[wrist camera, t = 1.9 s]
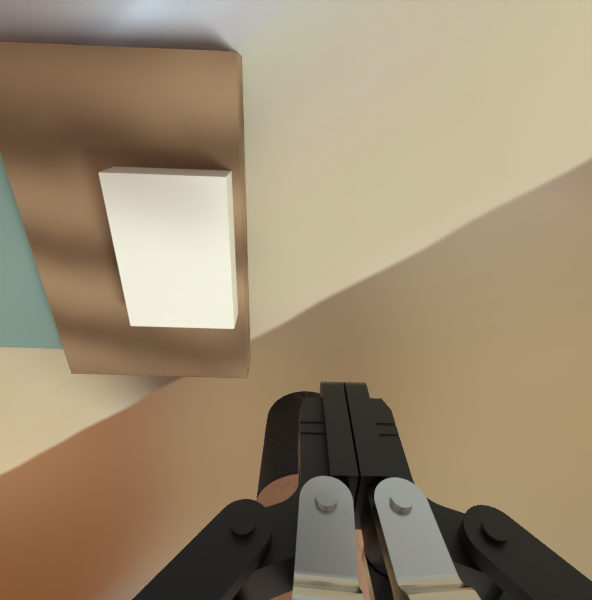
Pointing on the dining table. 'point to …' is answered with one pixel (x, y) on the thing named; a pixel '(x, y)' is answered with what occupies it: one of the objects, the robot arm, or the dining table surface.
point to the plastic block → (174, 245)
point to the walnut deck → (89, 197)
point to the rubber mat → (21, 282)
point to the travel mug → (289, 466)
